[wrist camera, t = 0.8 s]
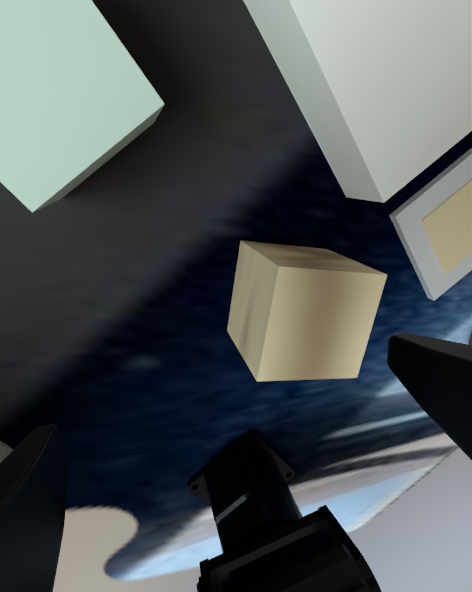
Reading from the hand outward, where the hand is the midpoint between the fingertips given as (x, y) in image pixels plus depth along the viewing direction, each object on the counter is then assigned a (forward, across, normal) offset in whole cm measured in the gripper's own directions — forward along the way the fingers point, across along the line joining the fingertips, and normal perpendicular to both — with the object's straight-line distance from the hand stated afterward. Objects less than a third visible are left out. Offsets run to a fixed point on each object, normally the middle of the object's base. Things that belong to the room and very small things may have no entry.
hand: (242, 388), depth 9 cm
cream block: (+13, -13, -11) cm, 21 cm away
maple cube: (+13, -6, +3) cm, 14 cm away
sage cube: (+12, +4, -9) cm, 16 cm away
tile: (+12, -20, 0) cm, 23 cm away
